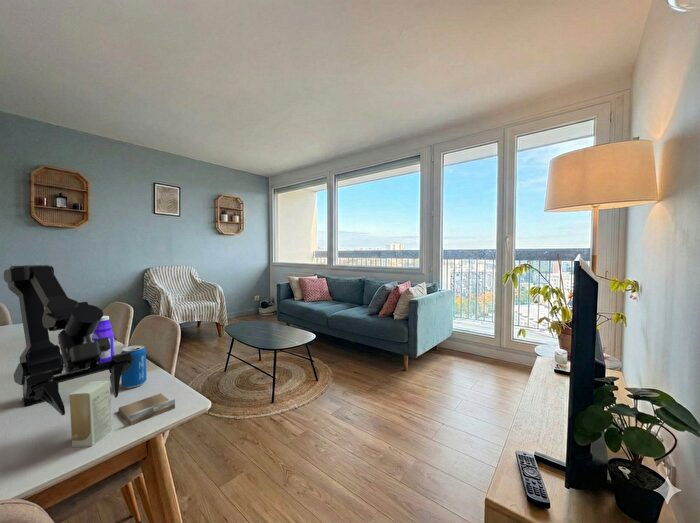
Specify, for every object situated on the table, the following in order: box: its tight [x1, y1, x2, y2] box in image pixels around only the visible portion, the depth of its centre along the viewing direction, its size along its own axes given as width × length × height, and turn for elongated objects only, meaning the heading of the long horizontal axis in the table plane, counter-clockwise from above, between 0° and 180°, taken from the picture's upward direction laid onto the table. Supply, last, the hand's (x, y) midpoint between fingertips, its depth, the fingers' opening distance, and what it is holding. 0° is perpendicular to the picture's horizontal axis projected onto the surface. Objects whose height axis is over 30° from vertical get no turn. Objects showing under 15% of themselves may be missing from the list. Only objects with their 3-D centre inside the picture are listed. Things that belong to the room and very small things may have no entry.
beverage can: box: [120, 344, 147, 389], centre depth 92 cm, size 6×6×12 cm
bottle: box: [91, 315, 115, 364], centre depth 111 cm, size 7×6×17 cm
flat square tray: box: [118, 393, 176, 426], centre depth 78 cm, size 10×10×2 cm
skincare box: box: [69, 380, 113, 448], centre depth 66 cm, size 6×4×12 cm
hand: (91, 404), depth 66 cm, fingers open, 9 cm apart
